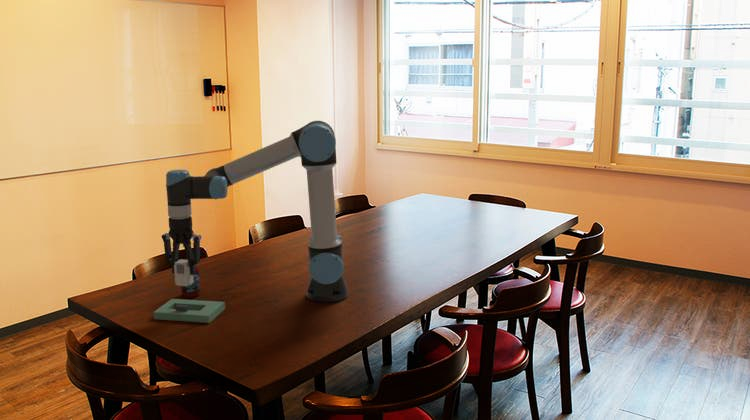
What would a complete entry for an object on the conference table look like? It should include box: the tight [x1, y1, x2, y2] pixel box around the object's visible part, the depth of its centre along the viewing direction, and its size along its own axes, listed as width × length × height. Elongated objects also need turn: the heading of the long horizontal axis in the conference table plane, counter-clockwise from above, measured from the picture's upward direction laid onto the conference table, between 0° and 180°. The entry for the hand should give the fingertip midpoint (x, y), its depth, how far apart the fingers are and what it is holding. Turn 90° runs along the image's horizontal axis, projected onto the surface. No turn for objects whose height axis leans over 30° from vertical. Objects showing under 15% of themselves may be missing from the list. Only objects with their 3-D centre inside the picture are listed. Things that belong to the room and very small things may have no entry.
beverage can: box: [180, 264, 202, 298], centre depth 252 cm, size 7×7×12 cm
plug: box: [175, 258, 189, 287], centre depth 232 cm, size 4×4×8 cm
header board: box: [153, 298, 226, 324], centre depth 235 cm, size 20×13×4 cm, turn 79°
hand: (184, 283), depth 233 cm, fingers closed on plug, 4 cm apart
